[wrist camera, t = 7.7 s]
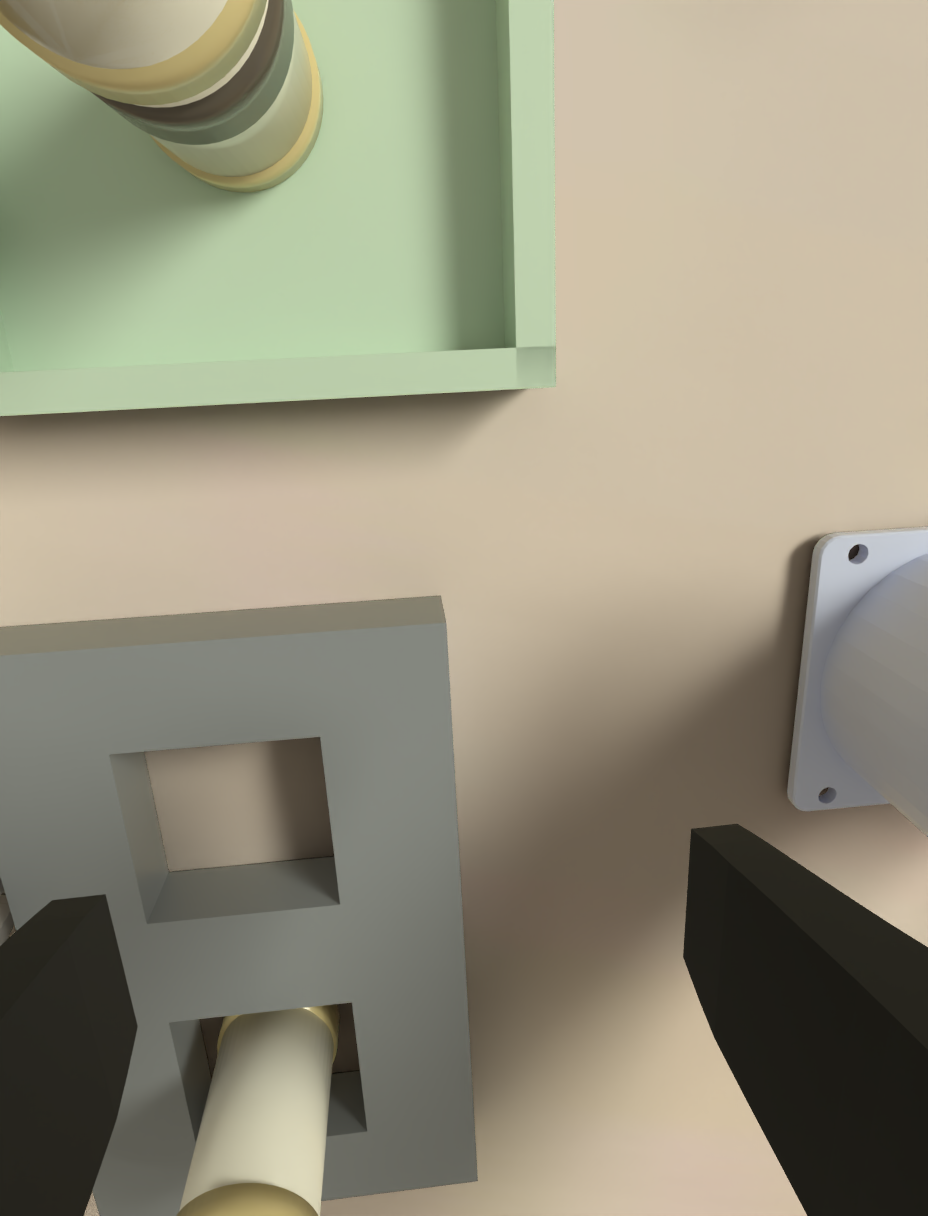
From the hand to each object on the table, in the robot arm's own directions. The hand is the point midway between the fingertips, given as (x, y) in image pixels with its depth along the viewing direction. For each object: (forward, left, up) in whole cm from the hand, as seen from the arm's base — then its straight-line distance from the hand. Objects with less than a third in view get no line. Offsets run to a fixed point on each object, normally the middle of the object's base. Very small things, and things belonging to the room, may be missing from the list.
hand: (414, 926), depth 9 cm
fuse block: (+4, +8, -10) cm, 14 cm away
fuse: (+4, +12, -10) cm, 17 cm away
